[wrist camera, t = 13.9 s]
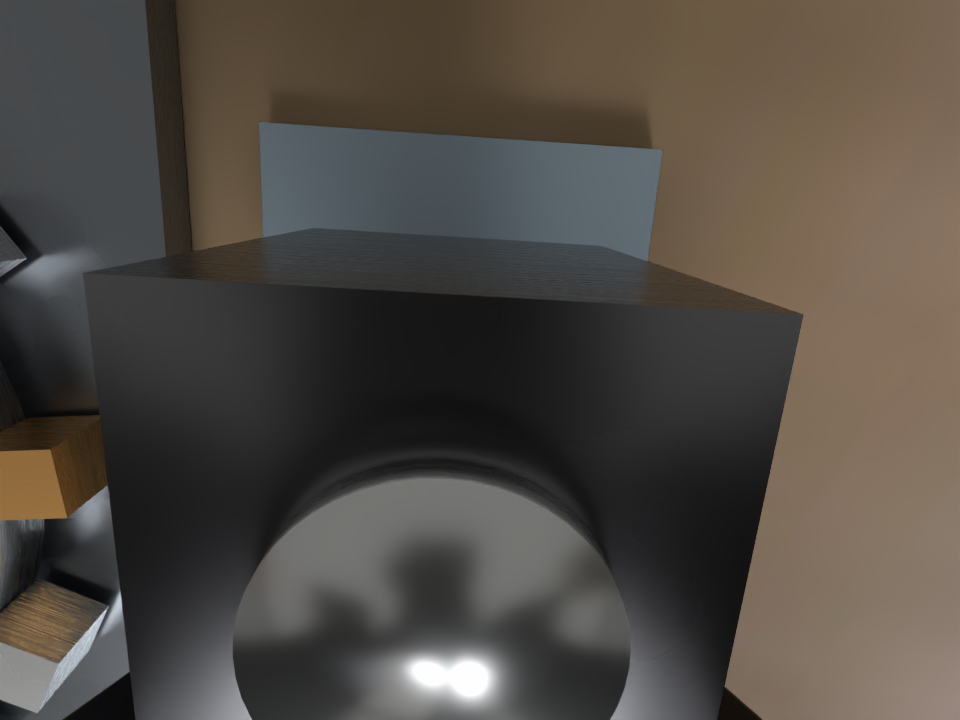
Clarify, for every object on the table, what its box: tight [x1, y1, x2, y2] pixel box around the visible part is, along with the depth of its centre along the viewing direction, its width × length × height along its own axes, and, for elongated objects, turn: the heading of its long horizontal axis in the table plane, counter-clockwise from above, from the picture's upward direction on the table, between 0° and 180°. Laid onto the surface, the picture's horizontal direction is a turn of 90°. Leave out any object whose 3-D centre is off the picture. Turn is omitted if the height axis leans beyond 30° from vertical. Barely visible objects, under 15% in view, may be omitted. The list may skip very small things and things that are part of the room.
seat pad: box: [259, 122, 663, 261], centre depth 12 cm, size 7×13×1 cm, turn 176°
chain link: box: [83, 228, 803, 720], centre depth 7 cm, size 4×10×5 cm, turn 176°
